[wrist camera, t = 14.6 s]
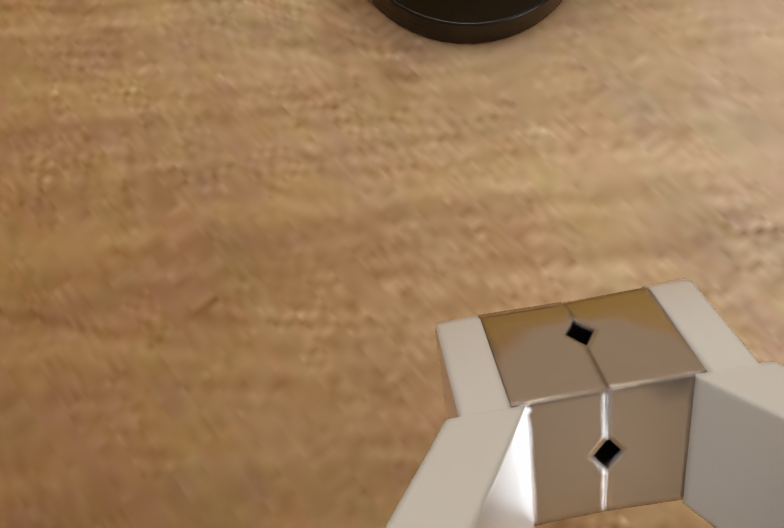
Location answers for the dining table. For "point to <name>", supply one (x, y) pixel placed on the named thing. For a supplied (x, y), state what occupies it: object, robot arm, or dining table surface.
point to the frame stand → (466, 17)
